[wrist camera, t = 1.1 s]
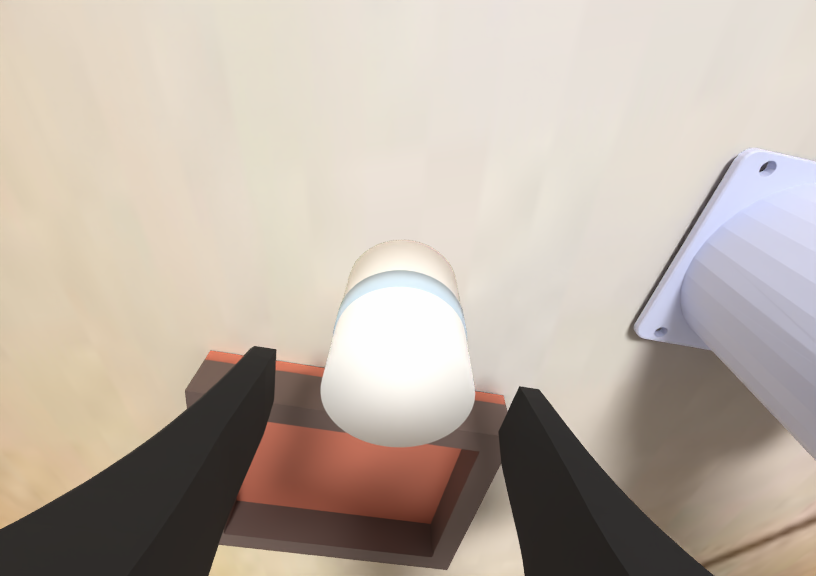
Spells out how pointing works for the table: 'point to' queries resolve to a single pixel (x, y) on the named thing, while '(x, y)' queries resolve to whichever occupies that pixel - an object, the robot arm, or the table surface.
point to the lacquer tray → (355, 479)
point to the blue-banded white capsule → (399, 349)
